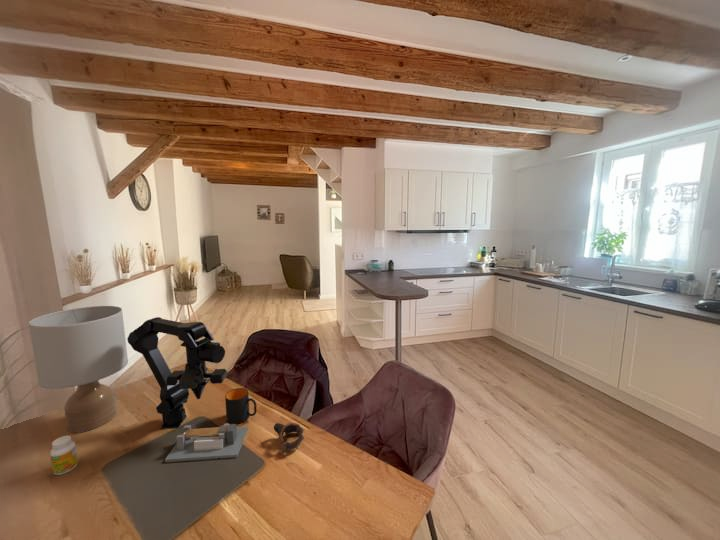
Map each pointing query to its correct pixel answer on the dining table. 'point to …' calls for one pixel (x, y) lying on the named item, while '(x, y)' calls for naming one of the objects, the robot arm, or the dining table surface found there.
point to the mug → (238, 406)
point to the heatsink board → (208, 445)
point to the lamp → (81, 360)
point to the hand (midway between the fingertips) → (199, 398)
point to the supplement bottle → (63, 455)
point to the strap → (205, 431)
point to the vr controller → (288, 429)
